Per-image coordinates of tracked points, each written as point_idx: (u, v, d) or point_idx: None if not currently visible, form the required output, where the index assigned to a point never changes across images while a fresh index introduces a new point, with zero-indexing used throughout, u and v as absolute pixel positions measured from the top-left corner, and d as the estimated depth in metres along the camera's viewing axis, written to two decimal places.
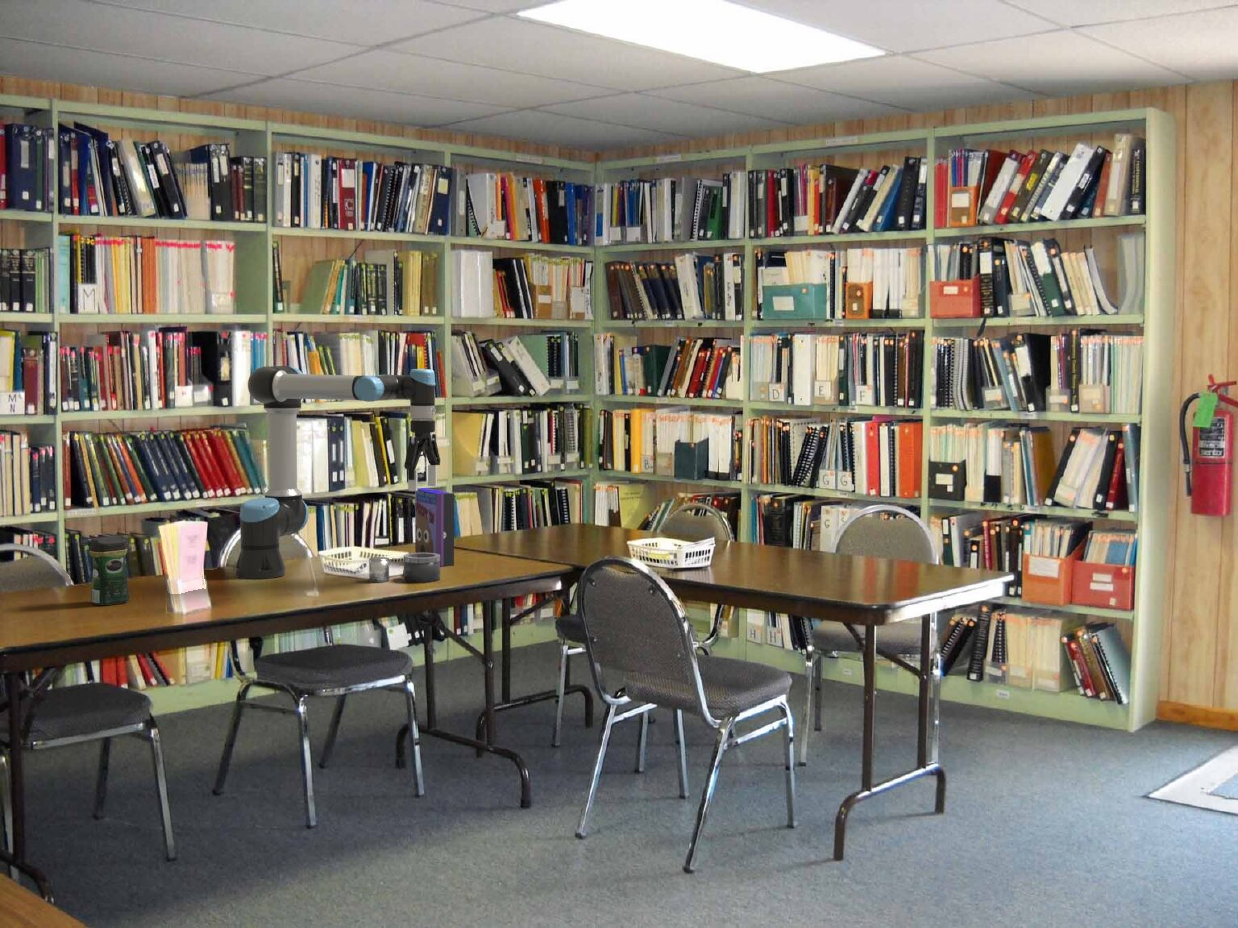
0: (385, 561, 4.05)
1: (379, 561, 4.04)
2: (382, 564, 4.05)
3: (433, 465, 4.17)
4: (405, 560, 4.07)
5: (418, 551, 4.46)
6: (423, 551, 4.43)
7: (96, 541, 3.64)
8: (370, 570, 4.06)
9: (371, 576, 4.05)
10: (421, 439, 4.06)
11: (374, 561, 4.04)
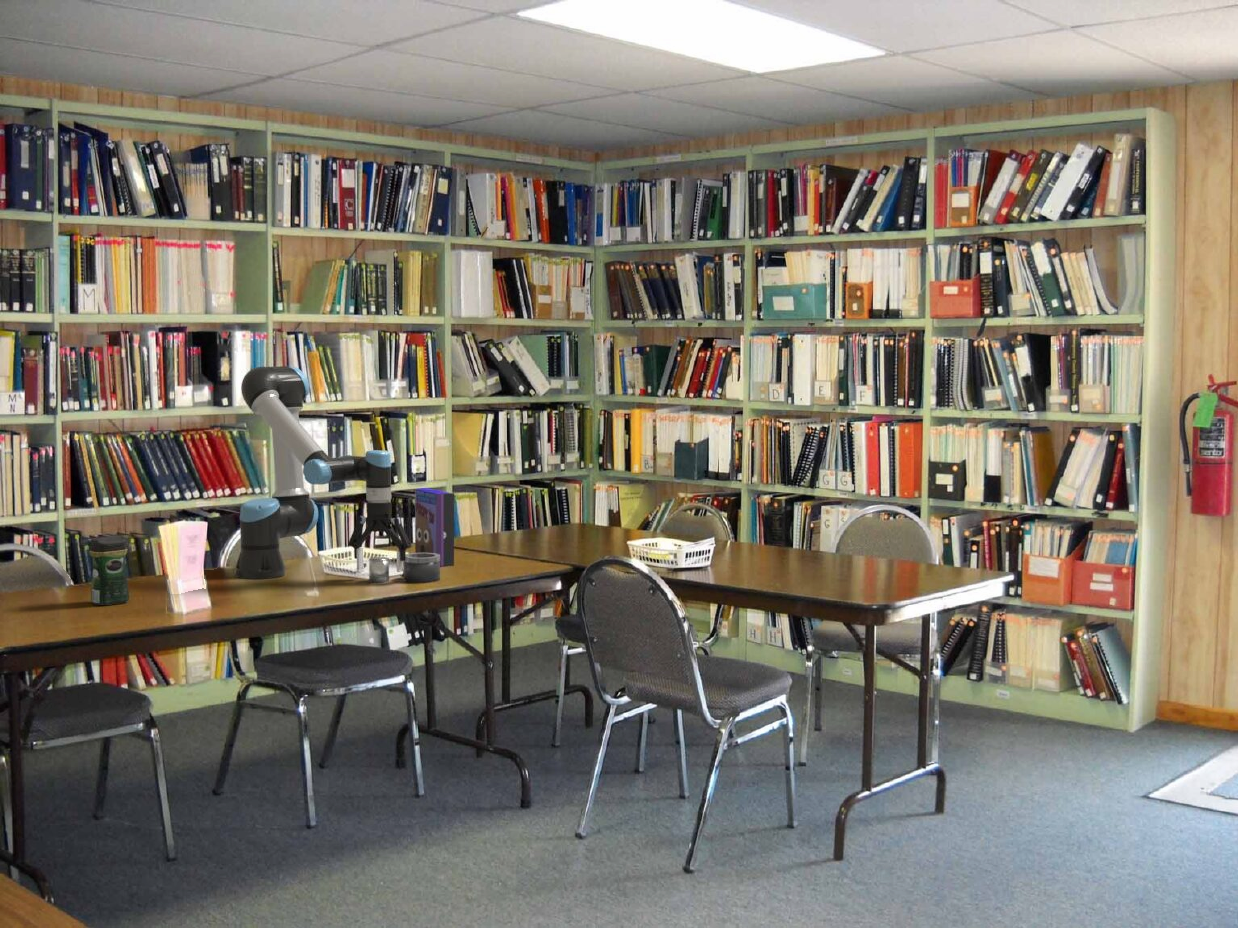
0: (385, 561, 4.05)
1: (379, 561, 4.04)
2: (382, 564, 4.05)
3: (399, 550, 4.04)
4: (405, 560, 4.07)
5: (418, 551, 4.46)
6: (423, 551, 4.43)
7: (96, 541, 3.64)
8: (370, 570, 4.06)
9: (371, 576, 4.05)
10: (368, 520, 4.06)
11: (374, 561, 4.04)
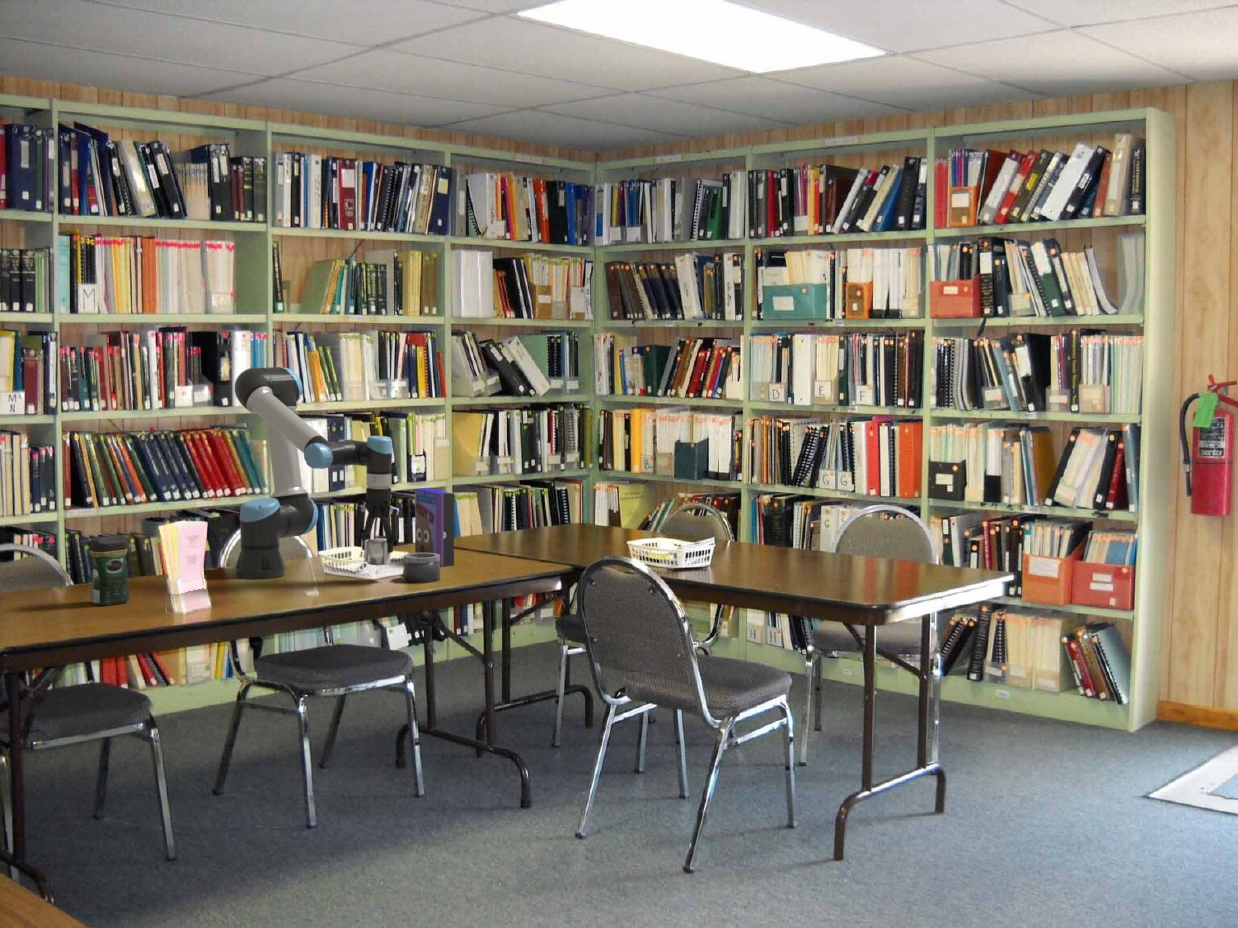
0: None
1: (378, 543, 4.04)
2: (381, 546, 4.05)
3: None
4: (405, 560, 4.07)
5: (418, 551, 4.46)
6: (423, 551, 4.43)
7: (96, 541, 3.64)
8: (368, 552, 4.05)
9: (369, 558, 4.05)
10: (367, 506, 4.06)
11: (373, 543, 4.04)
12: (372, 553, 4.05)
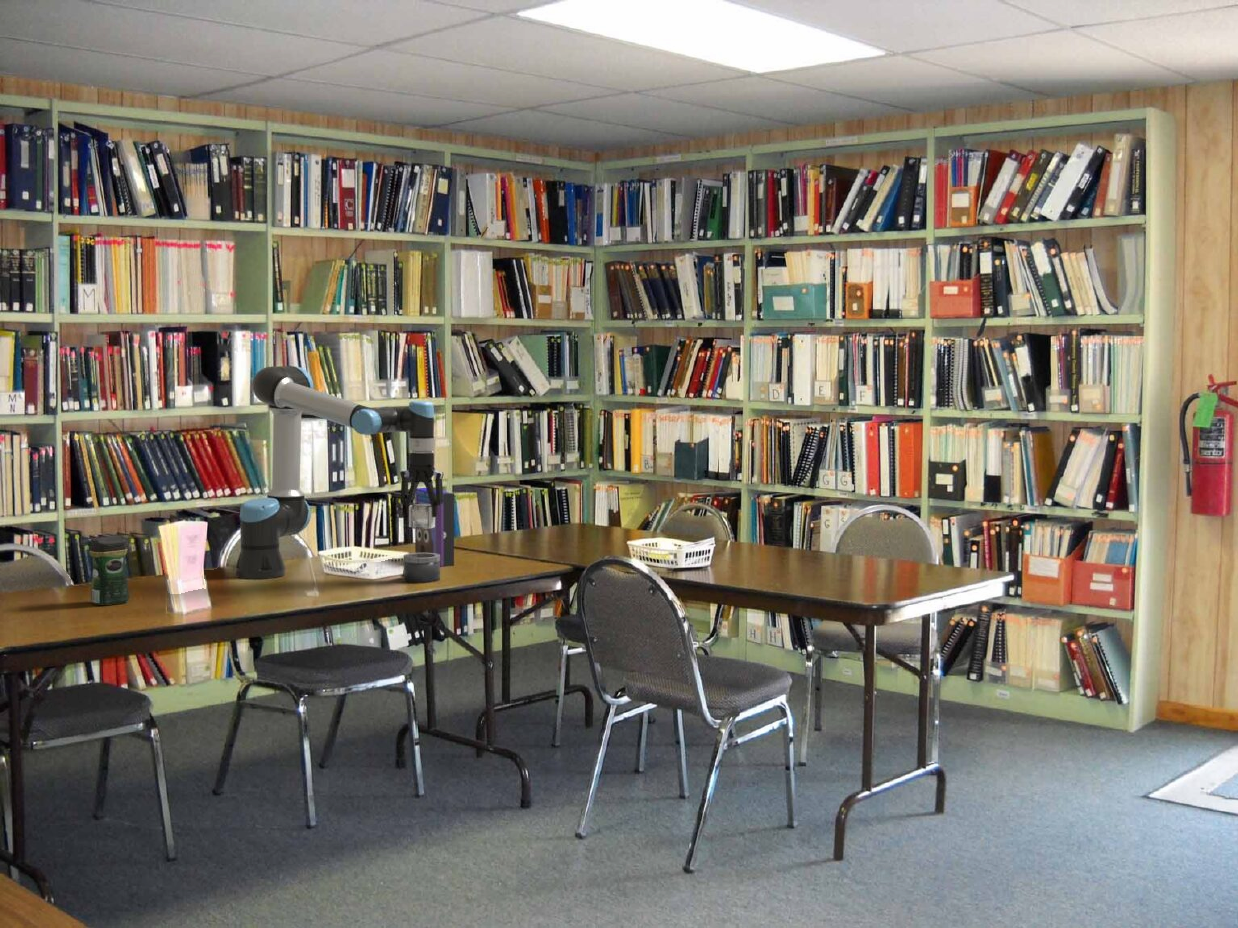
0: (428, 508, 4.07)
1: (422, 507, 4.06)
2: (425, 510, 4.07)
3: (431, 506, 4.08)
4: (405, 560, 4.07)
5: (418, 551, 4.46)
6: (423, 551, 4.43)
7: (96, 541, 3.64)
8: (413, 516, 4.07)
9: (414, 522, 4.07)
10: (411, 471, 4.08)
11: (417, 507, 4.06)
12: (417, 517, 4.07)
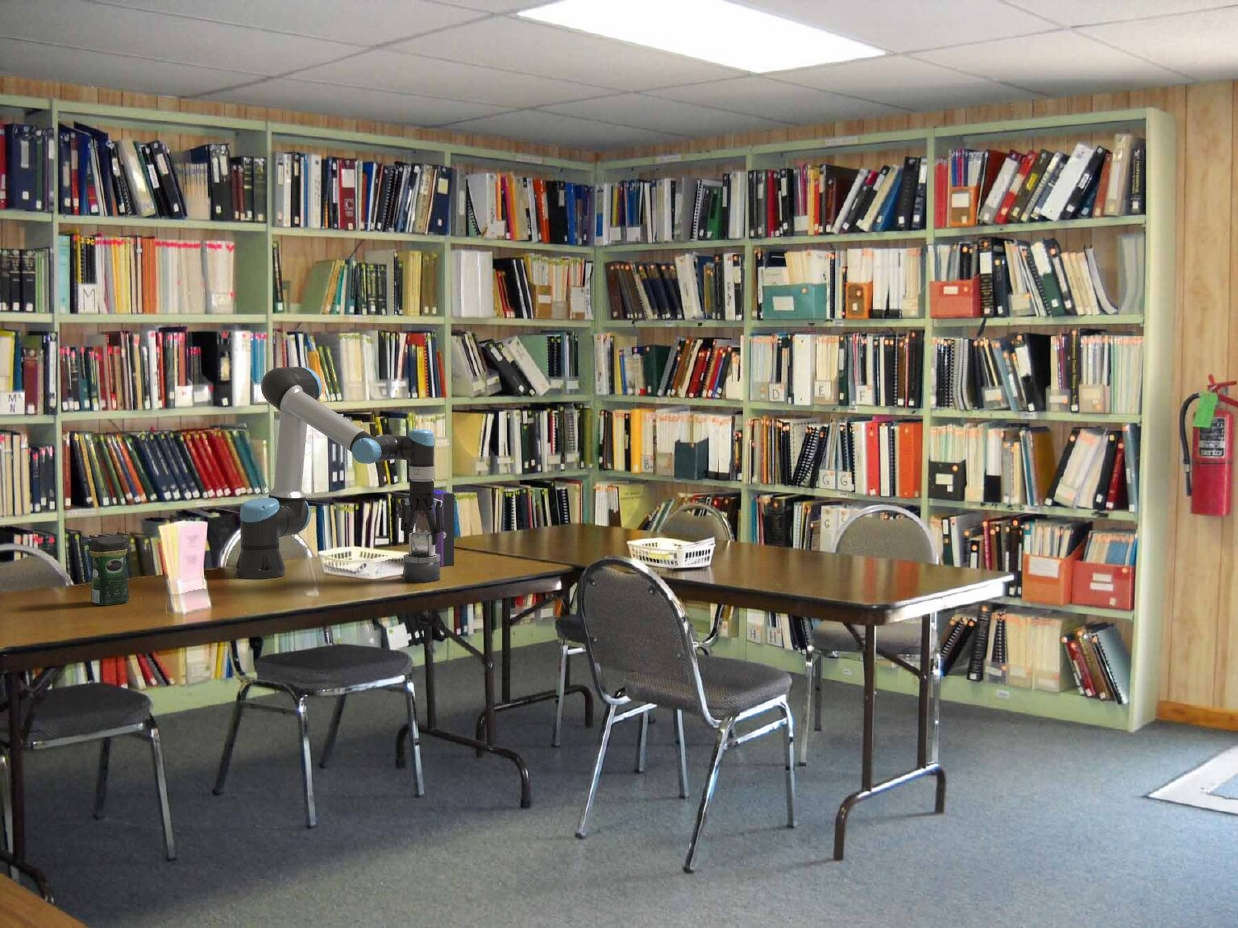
0: (428, 535, 4.08)
1: (422, 535, 4.07)
2: (425, 538, 4.07)
3: (431, 534, 4.08)
4: (405, 560, 4.07)
5: None
6: None
7: (96, 541, 3.64)
8: (413, 544, 4.08)
9: (414, 550, 4.08)
10: (411, 499, 4.09)
11: (417, 535, 4.07)
12: (417, 545, 4.07)
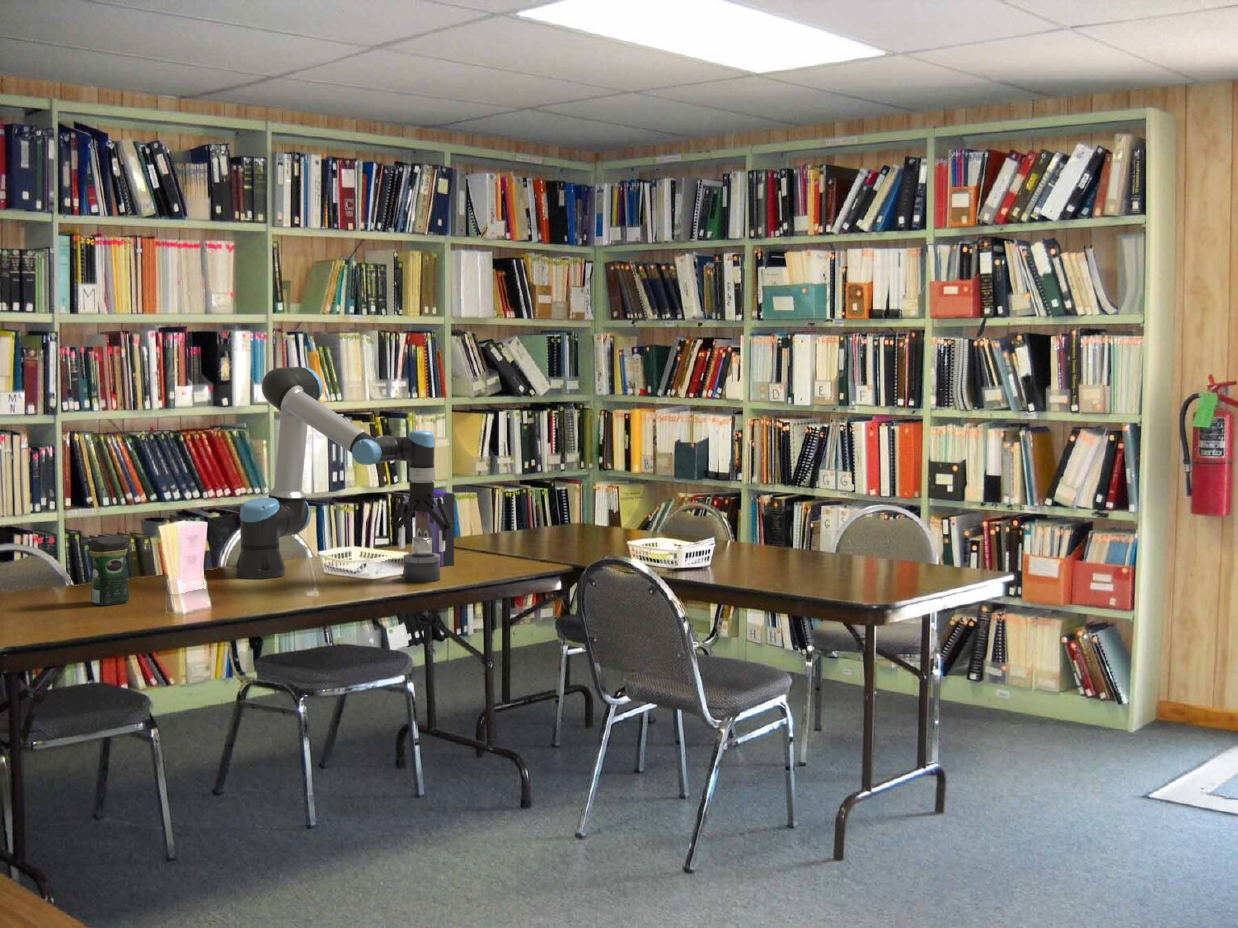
0: (428, 540, 4.08)
1: (423, 540, 4.07)
2: (425, 543, 4.07)
3: (441, 530, 4.07)
4: (405, 560, 4.07)
5: None
6: None
7: (96, 541, 3.64)
8: (413, 549, 4.08)
9: (414, 555, 4.08)
10: (411, 500, 4.09)
11: (418, 540, 4.07)
12: (417, 550, 4.07)
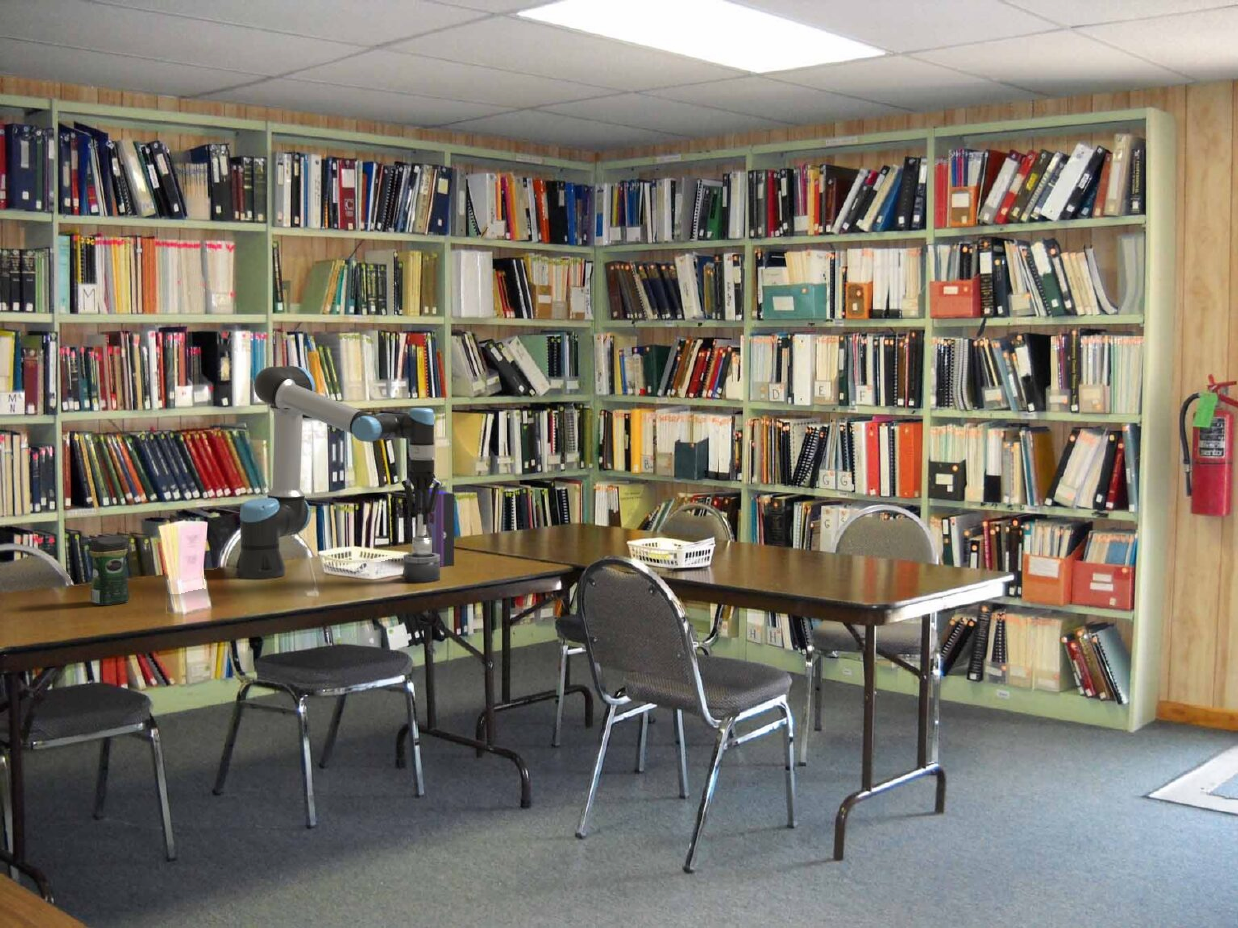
0: (428, 540, 4.08)
1: (423, 540, 4.07)
2: (425, 543, 4.07)
3: None
4: (405, 560, 4.07)
5: None
6: None
7: (96, 541, 3.64)
8: (413, 549, 4.08)
9: (414, 555, 4.08)
10: (411, 477, 4.08)
11: (418, 540, 4.07)
12: (417, 550, 4.07)
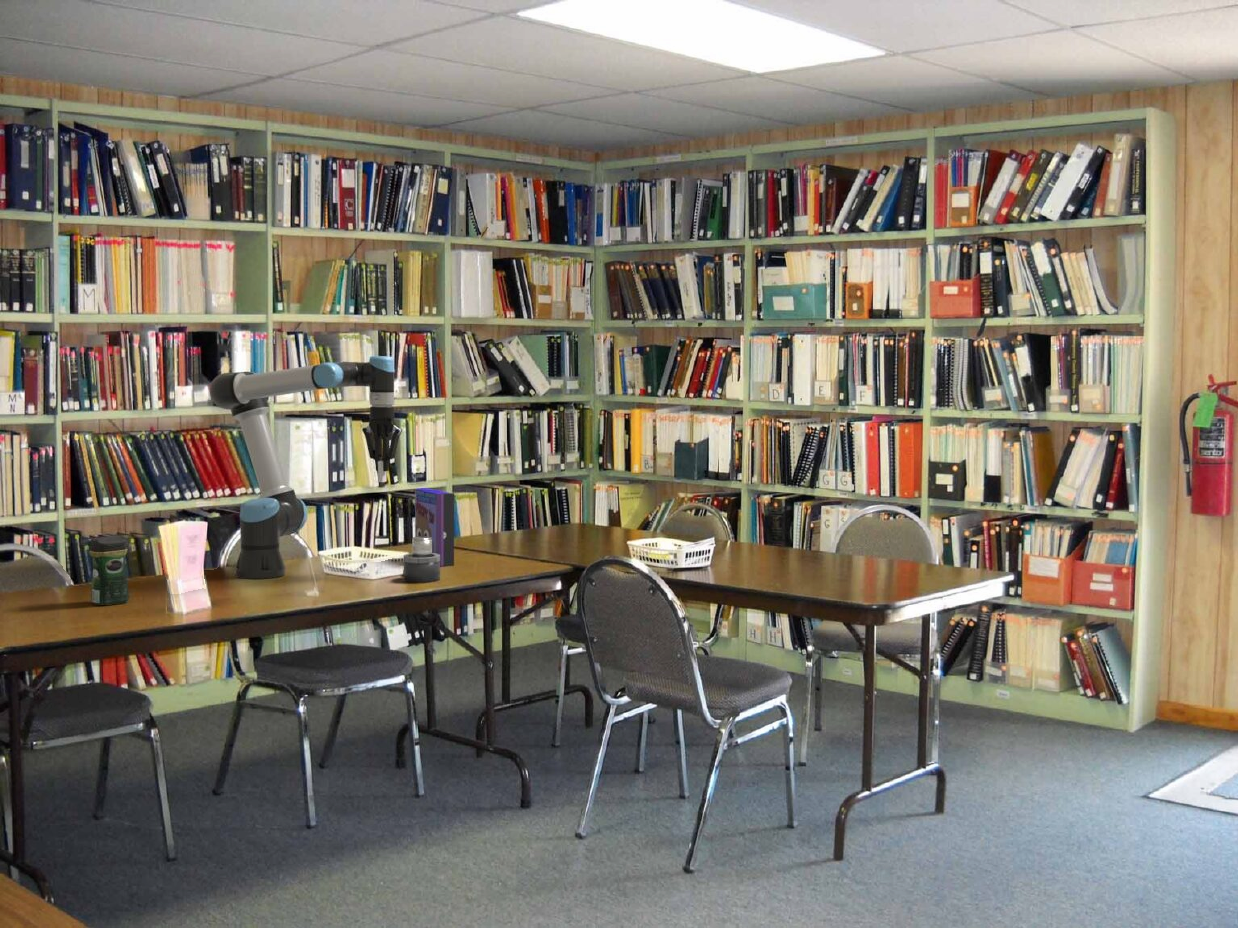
0: (428, 540, 4.08)
1: (423, 540, 4.07)
2: (425, 543, 4.07)
3: None
4: (405, 560, 4.07)
5: None
6: None
7: (96, 541, 3.64)
8: (413, 549, 4.08)
9: (414, 555, 4.08)
10: (371, 424, 4.14)
11: (418, 540, 4.07)
12: (417, 550, 4.07)
